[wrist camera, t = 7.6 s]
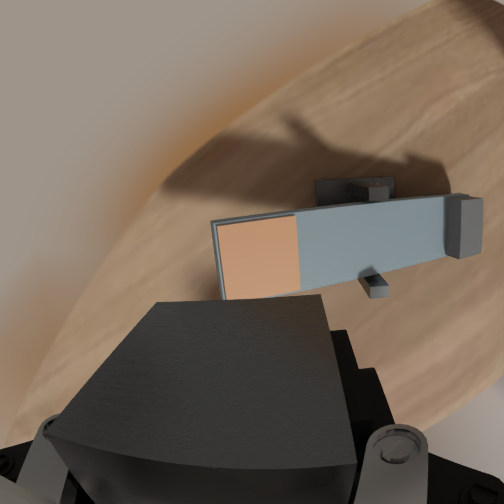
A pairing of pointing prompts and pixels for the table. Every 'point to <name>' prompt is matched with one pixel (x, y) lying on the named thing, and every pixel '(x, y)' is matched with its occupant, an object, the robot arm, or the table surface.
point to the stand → (352, 193)
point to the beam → (340, 242)
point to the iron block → (215, 409)
